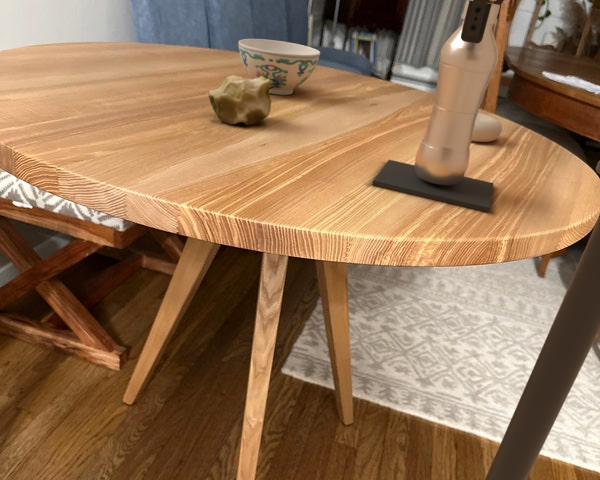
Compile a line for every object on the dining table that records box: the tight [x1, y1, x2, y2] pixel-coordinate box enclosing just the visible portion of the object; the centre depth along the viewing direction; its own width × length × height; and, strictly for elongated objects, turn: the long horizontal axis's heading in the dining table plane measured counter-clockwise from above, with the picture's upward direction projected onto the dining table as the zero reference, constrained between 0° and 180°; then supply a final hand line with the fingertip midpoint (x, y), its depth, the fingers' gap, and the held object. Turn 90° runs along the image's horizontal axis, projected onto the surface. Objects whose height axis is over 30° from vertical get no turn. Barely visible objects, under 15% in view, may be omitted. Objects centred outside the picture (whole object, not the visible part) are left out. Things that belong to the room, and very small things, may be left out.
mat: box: [371, 159, 495, 213], centre depth 71 cm, size 14×10×1 cm
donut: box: [471, 112, 503, 143], centre depth 95 cm, size 10×4×10 cm
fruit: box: [208, 74, 279, 126], centre depth 84 cm, size 9×9×8 cm
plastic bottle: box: [414, 0, 501, 185], centre depth 66 cm, size 6×7×20 cm
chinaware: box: [237, 38, 321, 96], centre depth 105 cm, size 15×15×8 cm
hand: (473, 39), depth 62 cm, fingers open, 8 cm apart
